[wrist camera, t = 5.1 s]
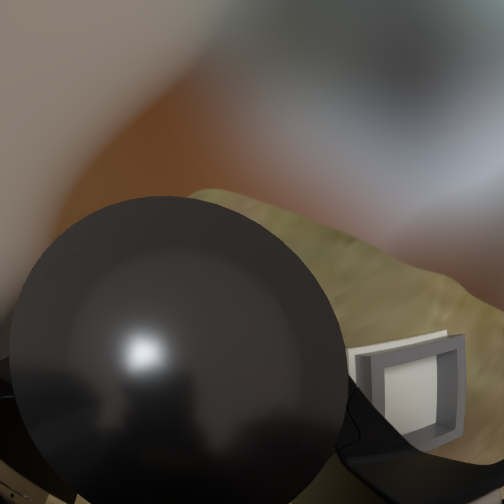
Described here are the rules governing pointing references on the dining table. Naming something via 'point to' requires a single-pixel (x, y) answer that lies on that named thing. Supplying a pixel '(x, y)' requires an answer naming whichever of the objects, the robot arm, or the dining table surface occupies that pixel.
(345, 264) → the dining table surface
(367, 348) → the holder
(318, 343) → the black-capped silver cylinder
